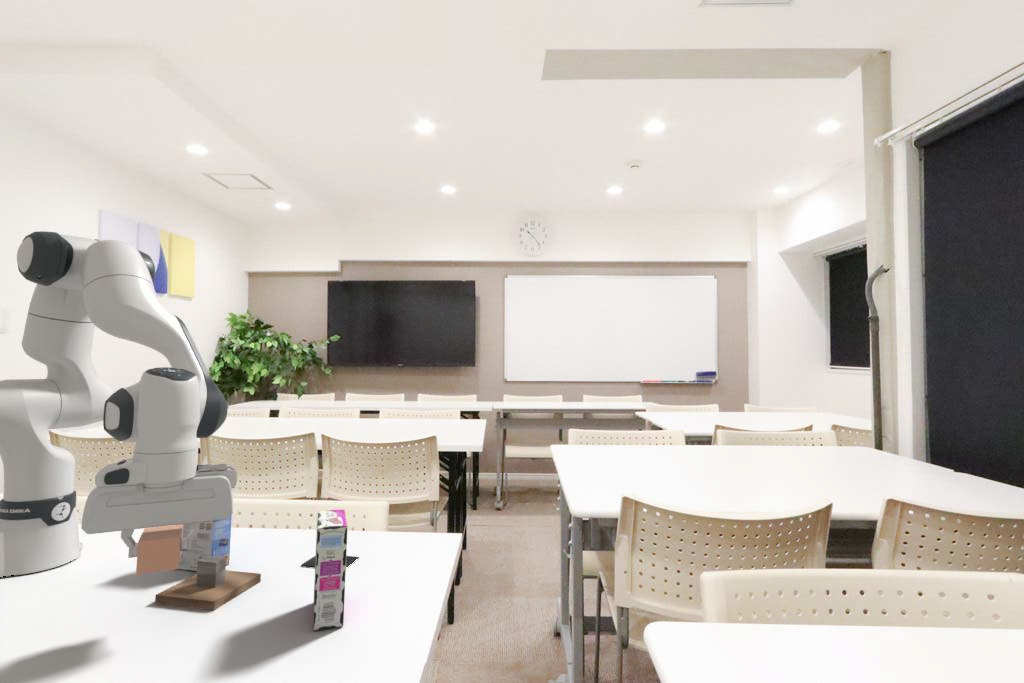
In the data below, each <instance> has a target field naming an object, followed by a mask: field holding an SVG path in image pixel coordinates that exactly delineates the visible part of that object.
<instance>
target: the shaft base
mask: <svg viewBox="0 0 1024 683" xmlns="http://www.w3.org/2000/svg"><path fill="white" fill-rule="evenodd" d="M226 566H227V565H226V558H222V557H211V556H207V557H205V558H203V559H201V560H198V564H197V571H196V574H193V575H192V576H191V577H190V576H189V577H188V578H186V579H185V580H183V581H180V582H178V583H176V584H174V585H172V586H171V587H169V588H166V589H165V590H163V591H160V592H158V593H156V594H155V599H154V600H155V602H154V604H158V605H166V606H173V607H175V606H176V607H181V608H182V607H183V608H191V609H199V610H210V611H215V610H218V609H219V608H221V607H222V606H224V605H225V604H227V603H228V602H230V601H232V600H233V599H235V598H236V597H238V596H240V595H241V594H243V593H244V592H246V591H248V590H249V589H250V588H252V587H254V586H256V585H258V584H259V583H261V580H262V579H261V576H262V574H261V573H257V572H248V571H247V572H246V571H238V570H237V571H236V570H227V569H226Z"/></svg>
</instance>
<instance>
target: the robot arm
mask: <svg viewBox="0 0 1024 683" xmlns="http://www.w3.org/2000/svg"><path fill="white" fill-rule="evenodd" d="M16 262H17V263H16V264H17V268H18V271H19V274H21V276H22V277H23V278H24V279H25V280H26V281H29V282H31V283H34V284H36V286H35V288H34V290H33V293H32V296H31V300H30V302H29V306H28V309H27V310H28V312H27V317H26V321H25V325H24V330H23V335H22V341H21V347H22V349H23V351H24V352H25V354H26V355H27V356H28V357H29V358H31V359H33V360H35V361H37V362H38V363H41V364H43V365H45V366H46V370H47V375H46V378H37V379H36V378H35V379H33V378H31V379H30V378H29V379H28V378H25V379H3V380H0V457H1V460H2V467H3V498H2V499H0V577H1V578H4V577H3V576H6V577H12V576H11V575H14V576H19V575H20V576H22V575H26V574H27V575H28V574H33V573H36V572H37V573H38V572H41V571H46V570H51V569H53V568H57V567H60V566H63V565H66V564H68V563H70V561H71V562H73V561H74V559H75V560H76V559H77V558H79V557H80V556H81V552H80V551H81V550H82V549H83V548H84V544H83V542H80V535H79V534H80V532H79V521H78V520H79V518H78V514H77V512H76V511H74V509H75V508H76V507H77V501H78V496H77V491H76V490H75V477H76V476H75V475H76V458H75V456H74V455H73V454H72V453H71V452H70V451H69V450H67V449H65V448H63V447H60V446H57V445H53V444H52V443H51V442H50V440H49V437H48V430H57V429H67V428H68V429H69V428H78V427H84V426H87V425H88V426H89V425H92V424H95V423H99V422H103V424H102V425H103V430H104V431H105V432H106V433H107V434H108V435H109V436H111V437H112V438H113V439H115V440H117V441H119V442H125V443H135V445H134V448H133V454H132V455H133V456H132V457H130V458H127V459H123V460H121V461H116V462H114V463H110V464H108V465H105V466H103V467H102V468H100V469H99V471H97V473H96V474H95V477H94V484H95V485H96V486H95V487H94V488H93V490H91V491H90V492H89V494H88V496H87V498H86V501H85V505H84V508H83V513H82V519H81V527H80V528H81V529H82V530H83V532H84V533H85V534H86V535H94V534H95V535H96V534H104V533H111V532H121V533H120V539H121V540H122V542H124V545H126V546H127V548H128V558H131V559H132V558H137V552H138V542H136V541H135V539H134V538H133V535H134V532H135V530H141V529H145V528H153V527H162V526H171V525H179V524H188V523H190V530H191V529H192V530H191V532H190V533H189V535H188V536H187V537H183V538H181V543H180V545H181V547H180V551H186V550H190V549H191V540H192V539H193V537H194V536H195V534H196V533H197V531H198V530H199V527H200V522H206V521H216V520H225V519H228V518H229V517H230V516H231V515H233V513H234V497H233V496H234V495H233V489H234V488H235V487H236V486H237V481H238V471H237V470H236V468H235V467H233V466H232V465H229V464H228V463H219V464H199V463H198V460H199V442H198V439H206V438H209V437H211V436H212V435H213V434H214V433H216V432H217V431H218V430H219V429H220V428H221V427H222V426H223V424H224V422H225V421H226V419H227V416H228V403H227V400H226V398H225V395H224V394H223V392H222V391H221V390H220V388H219V387H218V385H217V384H216V383H215V381H214V380H213V379H212V376H211V374H210V373H209V370H208V368H207V366H206V364H205V362H204V360H203V358H202V355H201V354H200V352H199V349H198V347H197V345H196V342H194V339H193V337H192V334H190V332H189V330H188V327H187V326H186V324H185V323H184V321H183V320H182V318H180V317H178V316H177V315H175V314H174V313H173V312H172V311H170V310H169V309H168V308H167V307H166V306H165V305H164V303H163V302H162V301H161V300H160V297H159V296H158V295H157V292H156V290H155V286H154V281H155V276H156V266H155V263H154V261H153V259H152V257H151V256H150V255H149V254H147V253H145V252H143V251H142V250H139V249H137V248H135V246H134V245H132V244H129V243H128V242H125V241H122V240H118V239H103V240H102V239H93V238H92V239H91V238H87V237H81V236H74V235H68V234H60V233H58V232H55V231H45V230H44V231H41V230H40V231H33V232H31V233H30V234H27V235H26V236H25V237H24V238H23V239H22V241H21V243H20V244H19V247H18V248H17V252H16ZM95 327H96V328H98V329H99V330H101V331H102V332H104V333H106V334H108V335H110V336H113V337H115V338H118V339H121V340H125V341H129V342H133V343H136V344H139V345H142V346H145V347H148V348H149V349H152V350H154V351H156V352H158V353H160V354H161V355H162V356H164V357H165V358H166V360H167V361H168V362H169V365H170V367H168V366H165V367H154V368H149V369H147V370H145V371H143V373H142V374H141V377H140V380H139V381H138V382H136V383H134V384H132V385H130V386H127V387H121V388H119V389H117V390H116V391H115V392H114V390H113V388H112V387H111V386H110V384H108V383H107V382H105V381H104V380H103V379H102V378H101V377H100V376H99V374H97V372H96V370H95V368H94V364H93V361H92V360H93V359H92V346H93V340H94V335H95ZM82 547H83V548H82ZM81 548H82V549H81ZM80 549H81V550H80ZM79 555H80V556H79Z"/></svg>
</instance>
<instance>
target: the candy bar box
mask: <svg viewBox="0 0 1024 683" xmlns="http://www.w3.org/2000/svg"><path fill="white" fill-rule="evenodd" d="M316 520H317V522H316V535H315V536H316V537H315V538H316V540H315V542H316V543H315V556H316V558H315V568H314V586H313V588H314V589H313V592H314V593H313V612H312V613H313V618H312V619H313V620H312V621H313V622H312V631H313V632H315V631H317V632H318V631H323V630H331V629H337V628H342V627H344V620H345V619H344V618H345V616H344V615H345V596H346V574H347V573H346V572H347V569H346V556H347V549H348V547H347V545H348V523H347V516H346V510H345V509H331V510H319V511H317V519H316Z"/></svg>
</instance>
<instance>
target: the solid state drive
mask: <svg viewBox="0 0 1024 683" xmlns="http://www.w3.org/2000/svg"><path fill="white" fill-rule="evenodd" d="M315 558H316V555H314V556H313V557H311V558H309V559H307V561H304V562H303V563H302V564H301V566H306V567H305V568H310V567H315ZM358 558H359V559H360V557H359V556H355V555H354V556H352V555H346V567H348V566H349V565H350V564H352V563H353V562H354V561H355V560H356V559H358ZM359 559H358V560H359ZM354 563H355V562H354ZM354 563H353V564H354ZM353 564H352V565H353ZM301 566H300V567H301ZM350 566H351V565H350ZM350 566H349V567H350ZM349 567H348V568H349Z"/></svg>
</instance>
